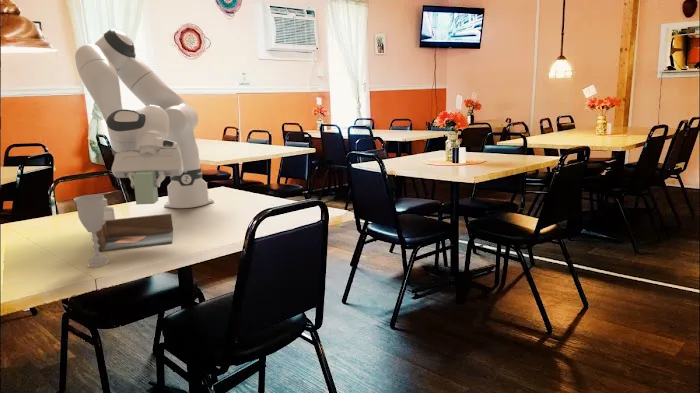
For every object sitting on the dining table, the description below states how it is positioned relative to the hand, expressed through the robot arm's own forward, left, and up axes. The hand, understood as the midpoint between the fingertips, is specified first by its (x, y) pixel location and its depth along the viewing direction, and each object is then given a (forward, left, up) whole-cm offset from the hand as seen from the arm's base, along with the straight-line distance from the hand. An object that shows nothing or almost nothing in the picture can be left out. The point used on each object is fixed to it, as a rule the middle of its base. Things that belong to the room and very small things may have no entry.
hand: (145, 186), depth 153 cm
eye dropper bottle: (-20, -15, -17) cm, 30 cm away
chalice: (+17, -12, -17) cm, 27 cm away
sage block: (-1, 0, -5) cm, 5 cm away
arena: (-2, -4, -17) cm, 17 cm away
